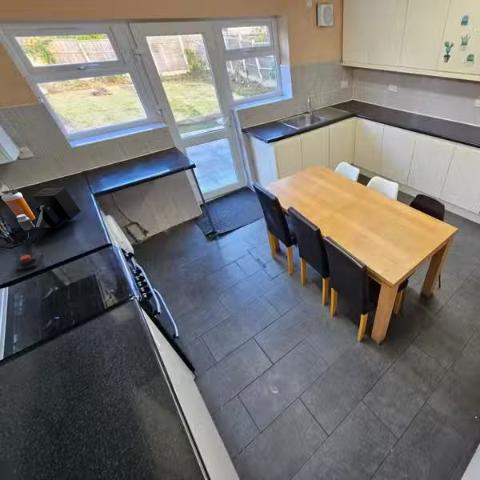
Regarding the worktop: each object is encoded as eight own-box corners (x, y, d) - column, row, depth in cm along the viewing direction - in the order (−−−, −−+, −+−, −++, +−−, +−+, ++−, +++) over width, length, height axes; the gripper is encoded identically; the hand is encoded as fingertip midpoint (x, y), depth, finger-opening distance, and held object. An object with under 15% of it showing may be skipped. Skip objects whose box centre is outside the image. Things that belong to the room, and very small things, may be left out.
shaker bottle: (25, 217, 180) (5, 189, 169) (40, 215, 181) (21, 188, 170) (15, 223, 172) (-6, 195, 161) (31, 222, 174) (11, 193, 162)
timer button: (30, 260, 141) (27, 258, 139) (21, 262, 139) (19, 260, 138) (32, 256, 143) (30, 253, 142) (24, 258, 142) (21, 255, 141)
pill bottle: (36, 227, 170) (27, 214, 165) (25, 231, 166) (16, 218, 161) (33, 225, 172) (24, 213, 167) (22, 229, 169) (13, 216, 164)
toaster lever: (43, 229, 161) (40, 228, 159) (33, 230, 161) (29, 228, 159) (51, 207, 167) (47, 205, 164) (40, 207, 166) (37, 205, 164)
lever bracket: (56, 228, 169) (42, 210, 160) (43, 229, 168) (28, 210, 160) (67, 219, 176) (54, 201, 168) (54, 220, 176) (40, 202, 167)
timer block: (38, 268, 141) (32, 262, 139) (18, 272, 139) (13, 267, 136) (44, 256, 148) (39, 251, 146) (26, 260, 146) (20, 255, 143)
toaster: (71, 219, 177) (53, 195, 165) (51, 220, 176) (31, 196, 165) (81, 211, 184) (64, 187, 173) (61, 212, 184) (43, 188, 172)
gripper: (-21, 208, 127) (7, 237, 138) (-36, 223, 117) (-5, 252, 128) (-1, 204, 129) (25, 233, 140) (-14, 218, 120) (15, 248, 131)
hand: (11, 242), depth 134 cm, fingers closed
